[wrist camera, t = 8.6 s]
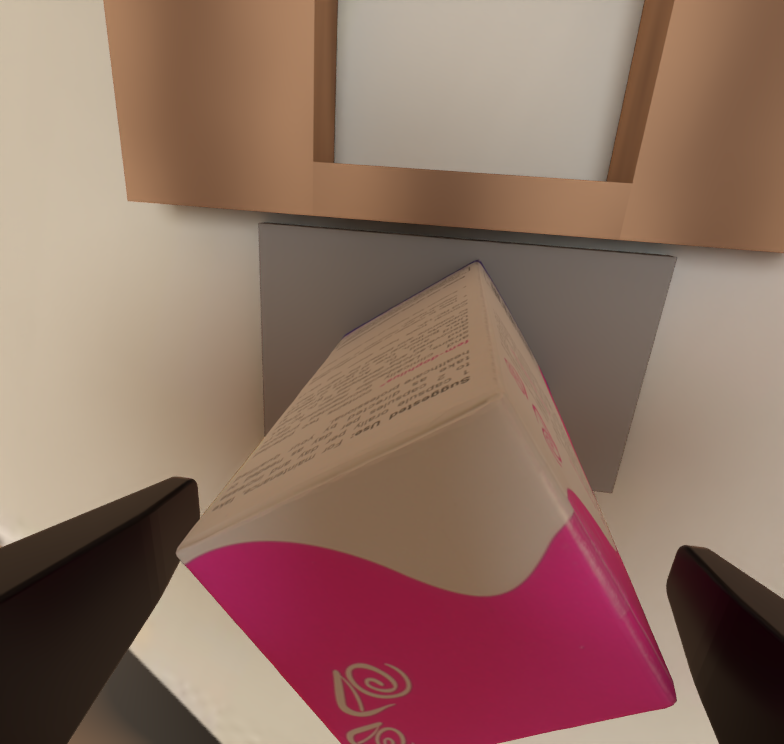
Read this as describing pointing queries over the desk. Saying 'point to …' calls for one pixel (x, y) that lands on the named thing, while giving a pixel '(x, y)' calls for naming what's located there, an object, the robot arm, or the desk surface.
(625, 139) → the brown wooden frame
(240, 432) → the desk surface
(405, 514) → the supplement box
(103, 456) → the desk surface
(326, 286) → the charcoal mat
